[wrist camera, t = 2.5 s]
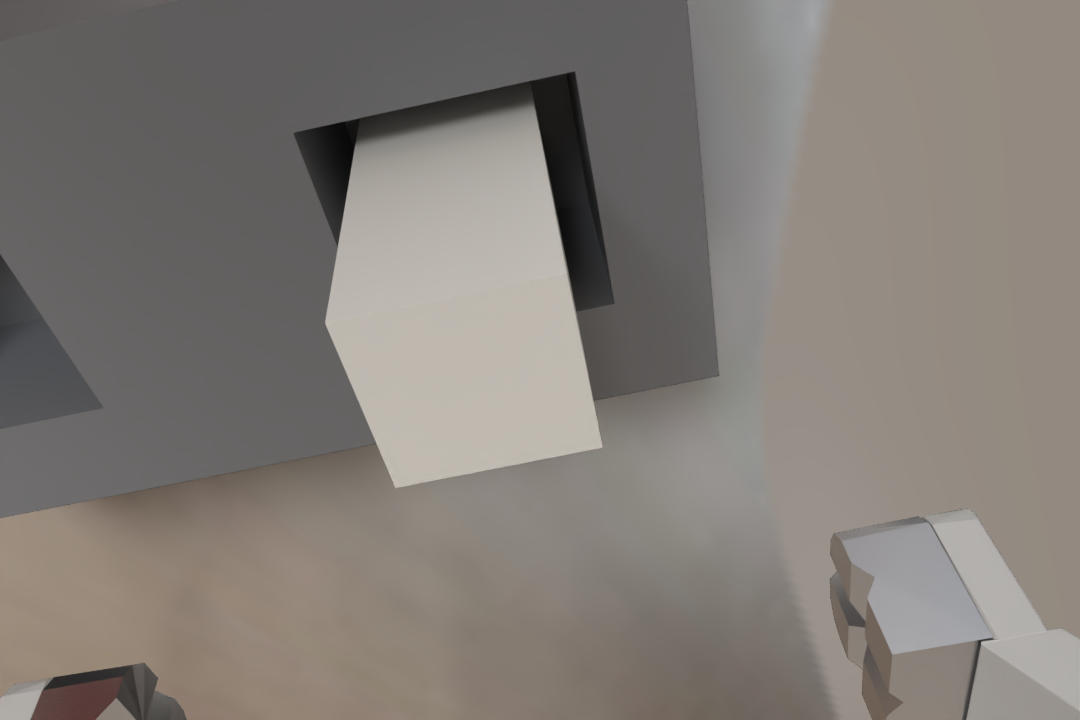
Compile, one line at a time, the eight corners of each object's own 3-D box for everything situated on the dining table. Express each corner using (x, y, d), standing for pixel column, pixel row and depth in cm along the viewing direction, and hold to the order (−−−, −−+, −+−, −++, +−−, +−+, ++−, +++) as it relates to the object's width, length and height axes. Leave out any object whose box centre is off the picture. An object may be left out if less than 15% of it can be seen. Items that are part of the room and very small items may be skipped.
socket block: (-326, 50, 19) (-526, 160, 15) (626, -170, 18) (677, -114, 14) (-42, 402, 25) (-131, 544, 21) (674, 255, 24) (719, 375, 20)
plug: (367, 74, 20) (325, 322, 13) (522, 40, 19) (567, 273, 12) (416, 229, 22) (403, 508, 15) (554, 200, 22) (606, 468, 15)
